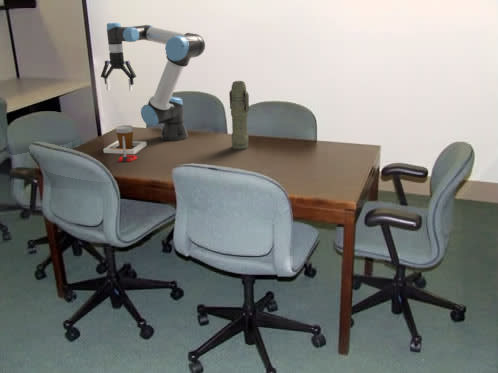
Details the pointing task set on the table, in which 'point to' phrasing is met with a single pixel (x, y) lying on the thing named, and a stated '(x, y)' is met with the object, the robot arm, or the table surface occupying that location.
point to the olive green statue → (239, 114)
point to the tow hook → (124, 157)
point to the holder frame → (138, 147)
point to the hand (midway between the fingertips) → (119, 90)
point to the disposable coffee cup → (125, 136)
